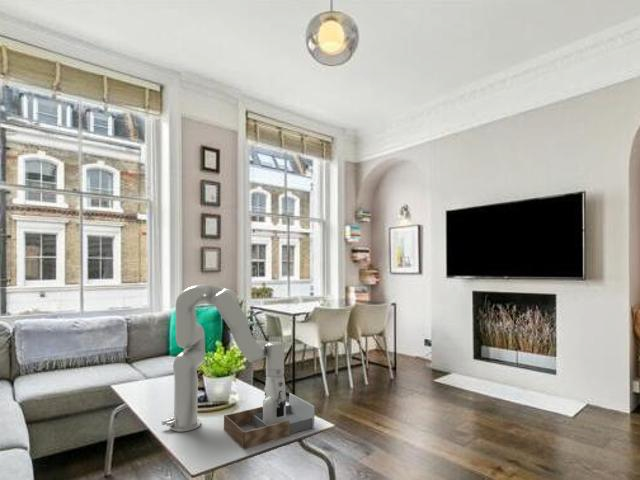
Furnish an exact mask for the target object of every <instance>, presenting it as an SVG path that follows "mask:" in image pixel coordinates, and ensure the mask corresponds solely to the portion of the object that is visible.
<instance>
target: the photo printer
mask: <svg viewBox="0 0 640 480" xmlns="http://www.w3.org/2000/svg"><path fill="white" fill-rule="evenodd" d="M279 399H280V398H279ZM280 402H281V401H279V404H280ZM286 406H287V401H286V402H285V406H284V416H281V417H277V416H276V412H277V403H276V402H275V401H273V400H272V398H271V397H270V396H269V397H267V398H266V399H265V398H264V399H263V402H262V407H263V422H265V423H266V424H268V425H273V424H277V423H281V422H284V421H286Z"/></svg>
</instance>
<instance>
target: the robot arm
mask: <svg viewBox="0 0 640 480" xmlns="http://www.w3.org/2000/svg"><path fill="white" fill-rule="evenodd" d="M237 295H238V294H237V293H236V292H235V291H234V290H232V289H229V288H224V287H220V286H215V285H212V284H205V283H204V284H196V285H192V286H190V287H187V288H186V289H184V290H183V291H182V292H180V294H179V295H178V296H177V298H176V301H175V342H176V344H177V346H178V347H180V348H182V349H183V351H181V352H180V353H178V354H177V355H176V357H174V360H173V365H172V370H173V376H174V390H173V391H174V394H173V395H174V396H173V397H174V398H173V399H174V400H173V402H174V403H173V414H172V415H171V417H169V418H168V419H162V420H161V425H162V426H165V425H166V427H168V426H169V429H170V430H172V431H174V432H180V433H181V432H183V433H184V432H188V431H194V430H195V429H198V428H200V426H201V425H202V420H201V419H200V418H198V401H199V400H198V399H199V398H198V393H199V391H198V389H199V387H198V386H199V379H198V372H197V370H198V368H199V367H201V366H202V364H203V363H204V361H205V358H206V347H205V346H206V336H205V334H206V333H205V330H204V328H203V326H202V325H201V324H200V323H198V322H197V312H196V307H197V306H200V305H203V304H208V305H212V306H214V307H215V309H216V310H217V312H218V313H219V315H220V316H221V317H222V319H223V320H224V322H225V323H226V325H227V327H228V328H229V329H230V332H231V335H232V337H233V339H234V341H235V344H236V346H237V348H238V350H239V351H240V352H241V354H242V355H243V356H244V358H245V360H247V361H248V362H249V363H251V364H257V363H259V362H261V361H262V360H263V359H264V358H266V360H265V362H266V363H265V364H266V365H265V366H266V367H265V376H266V377H265V386H264V387H263V389H264V396H265V397H264V399H266V398H267V397H269V396H270V397H271V398H272V400H273V401H275V402H276V403H277V412H276V416H277V417H281V416H284V406H285V402H286V403H287V398H286V397H287V396H286V382H285V381H286V380H285V376H284V374H285V345H284V343H283V342H281V341H266V340H261V339H260V340H259V339H258V340H256V339H255V338H254V336H253V335H252V332H251V329H250V327H249V318H248V316H247V315H246V313H245V312H244V311H243V310H242V308H241V306H240V305H239V304H238V296H237ZM279 398H280V399H279ZM279 401H281V402H280V404H279Z"/></svg>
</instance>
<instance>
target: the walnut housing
mask: <svg viewBox="0 0 640 480" xmlns="http://www.w3.org/2000/svg"><path fill="white" fill-rule="evenodd" d="M262 411H263V406H258V407H255V408H249V409H246V410H241V411H237V412H233V413H228V414H224V415H223V431H225V433H226V434H227V435H228V436H229V437H231V438H232V439H233V441H235V442H236V443H237V444H238V445H239V447H241V448H242V449H243V450H245V449H249V448H252V447H256V446H259V445H262V444H266V443H270V442H273V441H276V440H279V439H283V438H286V437H290V435H291V434H290V421H289V420H288V421H284V422H281V423H277V424H273V425H269V426H265V427H261V428H253V429H251V430H248V431H245V430H243V429H242V428H241V427H243V426H248V425H253V424H252V414H253V413H258V412H262Z"/></svg>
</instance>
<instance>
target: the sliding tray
mask: <svg viewBox="0 0 640 480" xmlns="http://www.w3.org/2000/svg"><path fill="white" fill-rule="evenodd" d="M288 393H289V395H288V405H287V404H286V421H288V420H289V421H290V435H291V434H294V433H298V432H301V431H305V430H308V429H315V406H314V405H313V404H311V403H309V402H308V401H306V400H304V399H302V398H300V397H299V396H296V395H295V394H293V393H291V392H288ZM251 425H253V426H254V427H256V429H258V428H261V427H265V426H269V425H268V424H266V423H265V422H263V411H262V412H258V413H253V414H252V424H251Z"/></svg>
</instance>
